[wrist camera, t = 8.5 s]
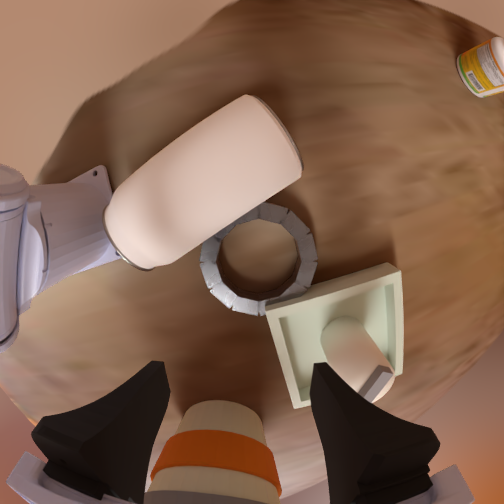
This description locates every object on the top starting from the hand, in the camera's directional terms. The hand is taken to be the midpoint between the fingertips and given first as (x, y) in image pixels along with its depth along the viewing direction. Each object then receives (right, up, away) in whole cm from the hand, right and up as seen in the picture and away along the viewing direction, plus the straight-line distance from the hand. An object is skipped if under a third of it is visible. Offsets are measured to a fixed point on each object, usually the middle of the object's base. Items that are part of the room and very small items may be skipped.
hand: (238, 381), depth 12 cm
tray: (+8, -1, +11) cm, 14 cm away
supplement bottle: (+25, +25, +5) cm, 36 cm away
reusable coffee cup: (-3, -13, +14) cm, 20 cm away
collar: (+1, +6, +9) cm, 11 cm away
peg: (+9, -1, +10) cm, 14 cm away
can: (+2, +14, +4) cm, 14 cm away
